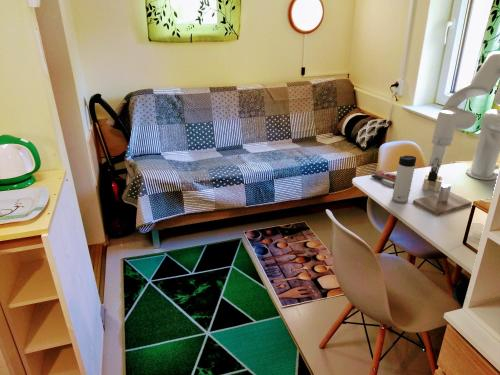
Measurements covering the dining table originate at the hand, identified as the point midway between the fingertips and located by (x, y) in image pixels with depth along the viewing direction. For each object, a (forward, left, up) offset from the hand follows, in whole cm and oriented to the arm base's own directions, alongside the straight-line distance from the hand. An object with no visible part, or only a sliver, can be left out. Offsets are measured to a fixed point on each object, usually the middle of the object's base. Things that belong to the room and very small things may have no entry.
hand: (432, 177), depth 169 cm
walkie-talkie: (+11, -11, -6) cm, 17 cm away
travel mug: (+21, +3, -6) cm, 22 cm away
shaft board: (+8, +13, -5) cm, 16 cm away
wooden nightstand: (-1, 0, -5) cm, 5 cm away
